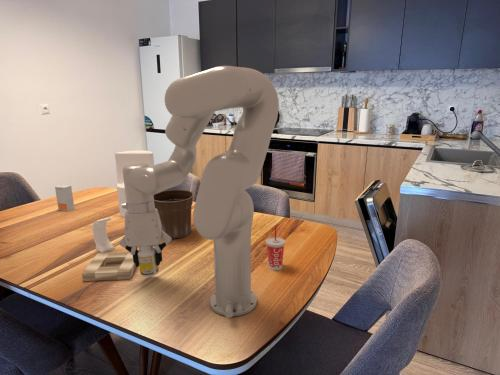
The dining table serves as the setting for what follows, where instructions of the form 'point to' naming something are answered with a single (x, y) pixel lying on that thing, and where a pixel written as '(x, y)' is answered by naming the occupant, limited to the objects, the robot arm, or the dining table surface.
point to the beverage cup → (275, 252)
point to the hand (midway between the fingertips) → (148, 263)
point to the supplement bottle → (147, 261)
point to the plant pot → (175, 211)
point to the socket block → (110, 267)
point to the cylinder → (127, 159)
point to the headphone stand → (101, 235)
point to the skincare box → (64, 197)
